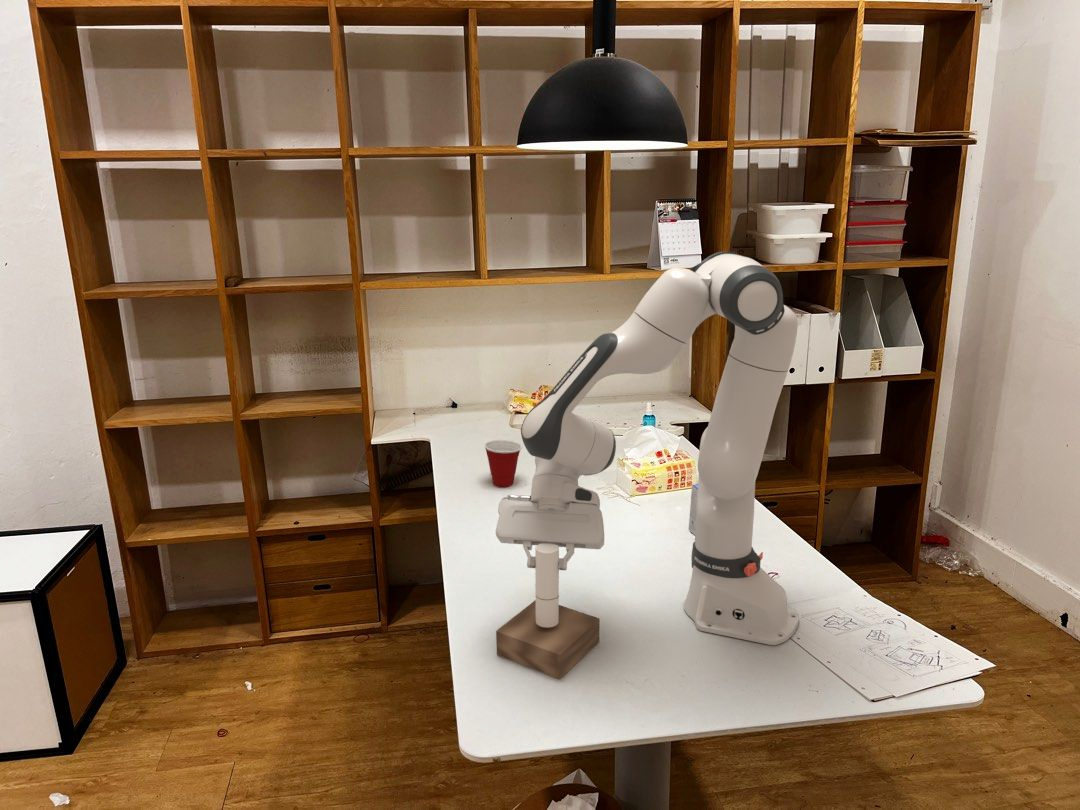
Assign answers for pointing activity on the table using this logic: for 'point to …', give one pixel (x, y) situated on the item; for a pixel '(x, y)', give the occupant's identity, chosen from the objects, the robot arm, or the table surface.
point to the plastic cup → (502, 461)
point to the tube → (547, 584)
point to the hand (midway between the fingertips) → (546, 568)
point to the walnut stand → (548, 640)
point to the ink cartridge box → (693, 509)
